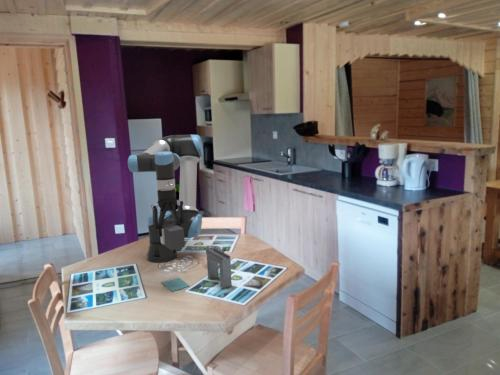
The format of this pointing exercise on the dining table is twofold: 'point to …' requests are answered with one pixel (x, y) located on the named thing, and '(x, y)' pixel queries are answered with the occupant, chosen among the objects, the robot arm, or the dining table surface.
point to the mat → (175, 284)
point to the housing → (225, 267)
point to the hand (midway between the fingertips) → (170, 241)
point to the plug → (173, 236)
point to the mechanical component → (214, 247)
